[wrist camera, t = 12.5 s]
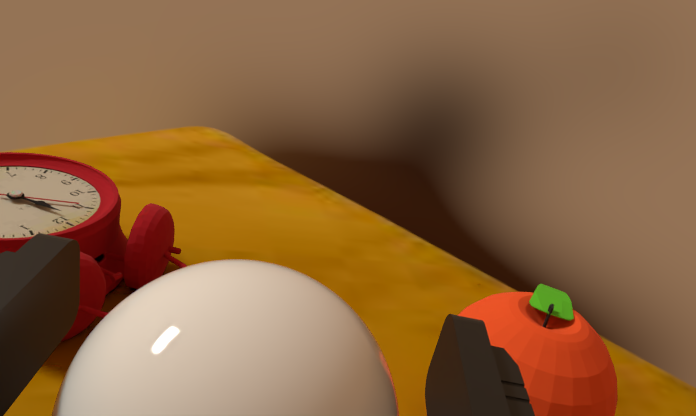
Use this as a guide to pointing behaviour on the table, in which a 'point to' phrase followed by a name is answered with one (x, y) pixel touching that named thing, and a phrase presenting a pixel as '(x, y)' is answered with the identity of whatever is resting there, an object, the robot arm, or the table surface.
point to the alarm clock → (83, 225)
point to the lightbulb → (229, 350)
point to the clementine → (551, 351)
